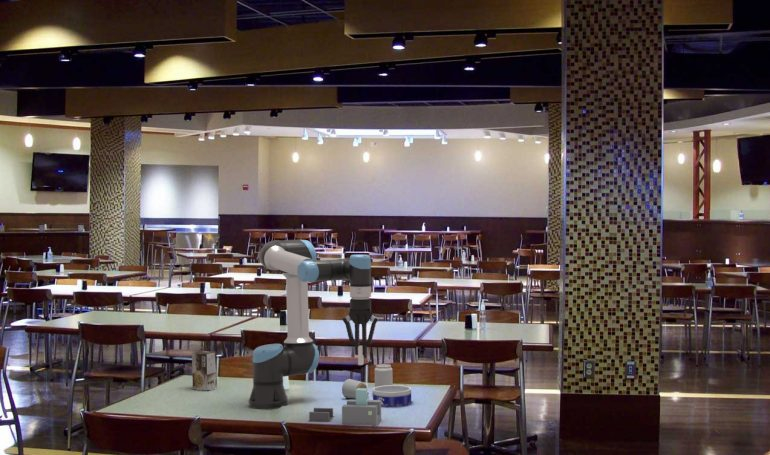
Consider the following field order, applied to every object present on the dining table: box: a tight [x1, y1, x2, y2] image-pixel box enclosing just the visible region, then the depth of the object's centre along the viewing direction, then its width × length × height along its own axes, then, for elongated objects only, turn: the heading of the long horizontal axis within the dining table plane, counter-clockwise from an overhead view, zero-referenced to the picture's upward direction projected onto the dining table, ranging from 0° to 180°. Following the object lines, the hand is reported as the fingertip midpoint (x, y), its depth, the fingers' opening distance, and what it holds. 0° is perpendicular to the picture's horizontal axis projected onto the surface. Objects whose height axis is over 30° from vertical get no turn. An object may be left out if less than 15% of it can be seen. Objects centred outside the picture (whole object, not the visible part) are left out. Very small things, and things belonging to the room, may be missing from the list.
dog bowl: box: [372, 384, 412, 408], centre depth 333 cm, size 15×15×6 cm
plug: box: [355, 387, 369, 405], centre depth 301 cm, size 4×4×12 cm
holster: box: [307, 407, 336, 423], centre depth 304 cm, size 8×9×4 cm
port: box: [341, 399, 382, 428], centre depth 300 cm, size 12×12×7 cm
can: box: [374, 363, 394, 388], centre depth 352 cm, size 8×8×12 cm
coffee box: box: [191, 350, 218, 391], centre depth 367 cm, size 9×6×16 cm
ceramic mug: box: [341, 378, 370, 400], centre depth 344 cm, size 11×8×8 cm
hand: (360, 364), depth 301 cm, fingers closed
